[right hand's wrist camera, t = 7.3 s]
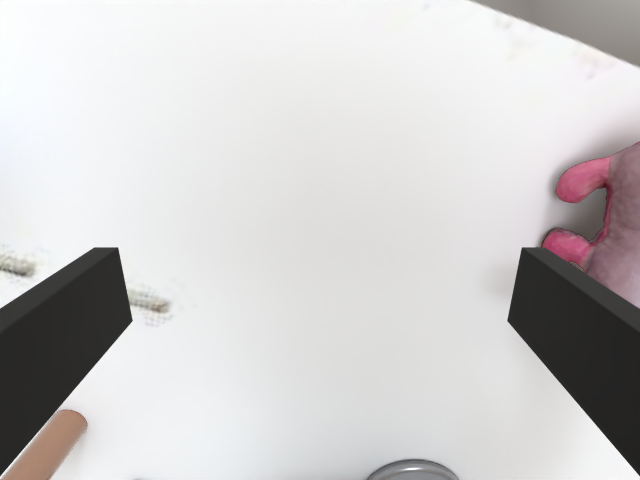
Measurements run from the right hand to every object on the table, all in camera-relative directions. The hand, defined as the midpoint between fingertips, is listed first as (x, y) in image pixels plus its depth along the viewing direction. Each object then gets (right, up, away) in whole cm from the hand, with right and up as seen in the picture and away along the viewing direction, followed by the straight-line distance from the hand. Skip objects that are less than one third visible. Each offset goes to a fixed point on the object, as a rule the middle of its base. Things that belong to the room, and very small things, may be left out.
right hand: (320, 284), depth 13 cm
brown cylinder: (-34, -23, +38) cm, 56 cm away
